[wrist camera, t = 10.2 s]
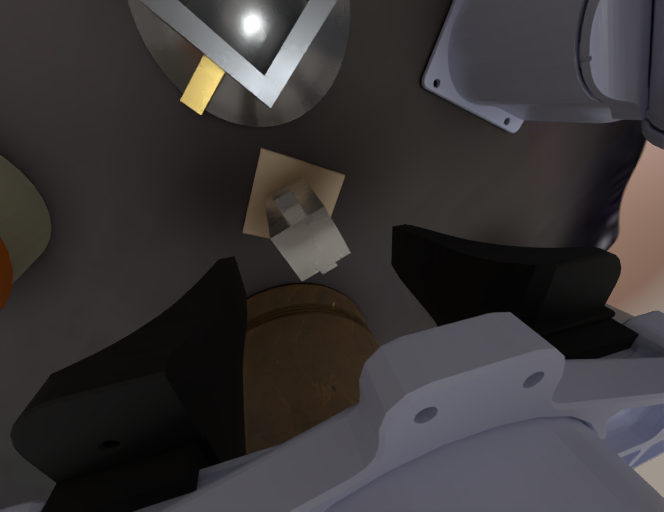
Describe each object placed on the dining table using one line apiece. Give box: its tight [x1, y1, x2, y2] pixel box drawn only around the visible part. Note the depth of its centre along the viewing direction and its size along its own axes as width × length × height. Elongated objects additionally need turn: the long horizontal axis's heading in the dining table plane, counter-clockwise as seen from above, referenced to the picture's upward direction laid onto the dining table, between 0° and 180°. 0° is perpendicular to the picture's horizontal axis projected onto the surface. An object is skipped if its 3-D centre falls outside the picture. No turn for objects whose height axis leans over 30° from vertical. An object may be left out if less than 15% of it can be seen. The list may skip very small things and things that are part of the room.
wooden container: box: [243, 284, 379, 455], centre depth 17 cm, size 15×15×22 cm
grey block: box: [264, 175, 350, 281], centre depth 17 cm, size 5×3×7 cm, turn 27°
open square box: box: [139, 0, 337, 115], centre depth 12 cm, size 6×8×2 cm
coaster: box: [243, 147, 345, 238], centre depth 20 cm, size 6×6×1 cm
